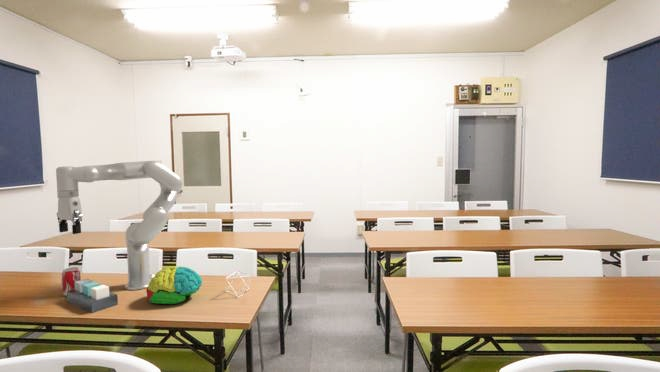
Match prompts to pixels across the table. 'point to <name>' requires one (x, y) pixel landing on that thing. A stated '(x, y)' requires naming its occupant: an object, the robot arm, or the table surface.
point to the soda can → (69, 279)
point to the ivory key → (99, 292)
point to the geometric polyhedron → (242, 279)
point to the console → (91, 301)
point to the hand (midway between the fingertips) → (70, 232)
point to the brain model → (173, 285)
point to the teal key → (87, 288)
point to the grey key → (79, 285)
